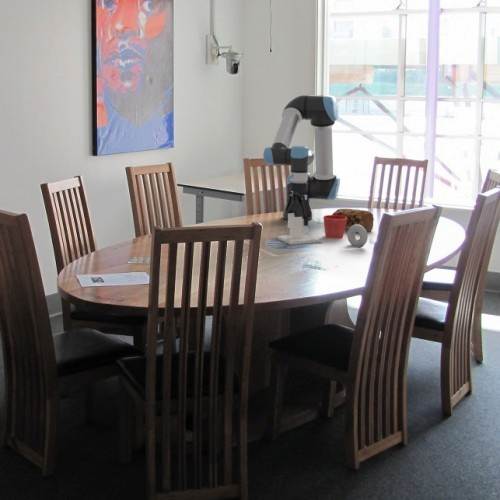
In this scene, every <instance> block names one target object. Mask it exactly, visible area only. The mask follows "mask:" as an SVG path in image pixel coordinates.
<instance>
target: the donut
mask: <svg viewBox="0 0 500 500" xmlns="http://www.w3.org/2000/svg"><path fill="white" fill-rule="evenodd" d="M356 233H358V235H359V239H357V238H356ZM346 235H347V238H346V239H347V241H348V242H349V244H350V245H351V246H352V247H357V248H361V247H364V246H365V245H366V244H367V242H368V237H369V236H368V235H369V234H368V232H367V231H366V229H365V228H364V227H363V226H361V225H359V224H355V225H353V226H351V227H350V228H349V230H348V231H347V233H346Z"/></svg>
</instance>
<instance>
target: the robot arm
mask: <svg viewBox="0 0 500 500" xmlns="http://www.w3.org/2000/svg"><path fill="white" fill-rule="evenodd" d="M337 101H338V100H337V99H336V97H334V96H333V95H326V94H324V95H322V94H321V95H318V94H316V95H311V94H310V95H309V94H308V95H307V94H302V95H299V96H296V97H295V98H293V99H292V100H290V101H289V102H288V103H287V104H286V106H285V107H284V108H283V110H282V113H281V117H282V119H281V122H280V124H279V127H278V129H277V132H276V135H275V136H274V140H273V143H272V145H271V147H269V146H268V147H265V148H264V151H263V162H264V164H266V165H272V166H274V165H277V166H290V174H289V175H288V176H287V179H286V202H285V203H286V204H285V206H284V210H283V213H282V219H283V220H286V221H287V228H288V229H290V218H292V217H302V231H301V233H305V234H308V232H309V221H311V220H312V219H313V212H312V209H311V205H310V200H323V201H324V200H325V201H331V200H332V201H334V200H336V199H337V197H338V193H339V189H340V183H341V182H340V181H341V178H340V177H339V176H337V173H336V171H335V170H334V160H333V159H334V158H333V157H334V156H333V126H334V125H335V122H336V121H337V120H338V118H339V106H338V102H337ZM304 120H305V121H307V120H308V121H310V125H311V126H312V127H313V134H314V135H313V136H314V139H313V140H314V151H313V150H312V149H310V148H309V147H308V146H305V145H293V146H291V143H292V139H293V138H294V135H295V132H296V130H297V127H298V125H299V124H300V123H301V121H304ZM290 146H291V148H290ZM314 160H315V171H314V172H313V173H312V175H311V172H309V166H310V165H311V164H312V163H313V162H314Z"/></svg>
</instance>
